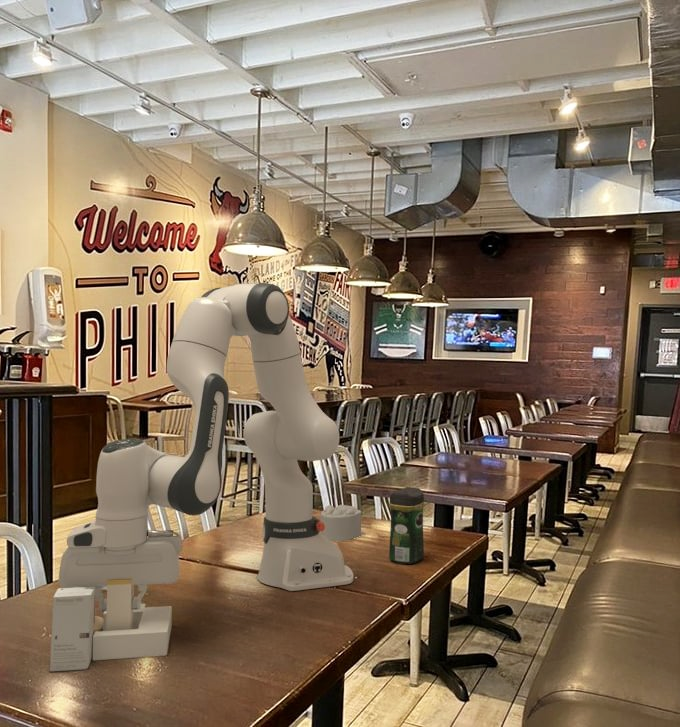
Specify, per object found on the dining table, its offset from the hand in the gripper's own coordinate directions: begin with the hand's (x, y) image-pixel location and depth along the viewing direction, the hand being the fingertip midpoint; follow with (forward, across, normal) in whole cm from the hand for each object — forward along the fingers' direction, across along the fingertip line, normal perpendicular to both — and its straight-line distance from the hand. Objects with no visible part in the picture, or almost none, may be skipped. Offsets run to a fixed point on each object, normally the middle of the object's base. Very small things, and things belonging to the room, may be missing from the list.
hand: (120, 609), depth 113 cm
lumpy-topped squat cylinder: (+6, -53, -66) cm, 85 cm away
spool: (+6, +8, -8) cm, 13 cm away
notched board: (+6, -2, 0) cm, 7 cm away
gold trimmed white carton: (+4, 0, 0) cm, 4 cm away
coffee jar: (+6, -66, -41) cm, 78 cm away
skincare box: (+6, +6, +7) cm, 11 cm away
